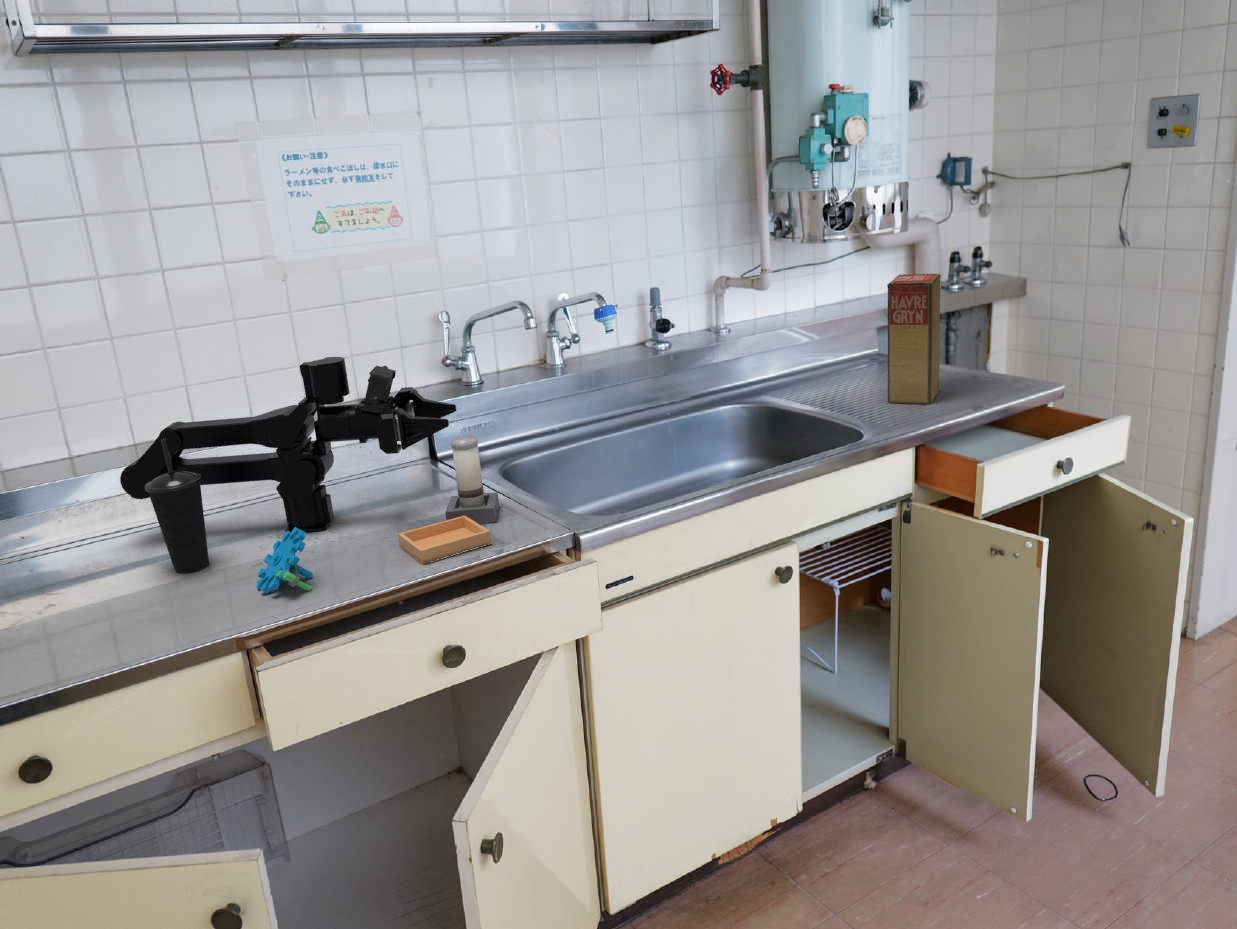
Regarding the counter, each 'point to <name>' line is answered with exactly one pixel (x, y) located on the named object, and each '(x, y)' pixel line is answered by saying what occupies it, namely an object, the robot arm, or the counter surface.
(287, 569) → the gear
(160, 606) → the counter surface
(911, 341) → the food packaging
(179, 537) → the drinking cup
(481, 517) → the socket block
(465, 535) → the tray
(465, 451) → the cylinder
